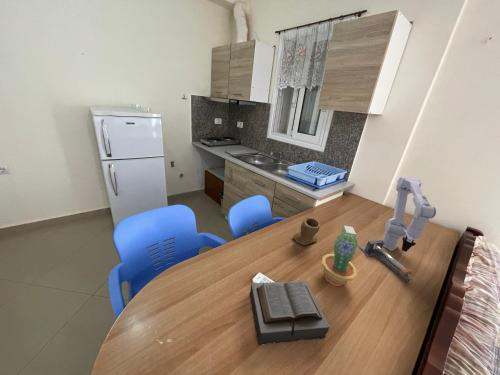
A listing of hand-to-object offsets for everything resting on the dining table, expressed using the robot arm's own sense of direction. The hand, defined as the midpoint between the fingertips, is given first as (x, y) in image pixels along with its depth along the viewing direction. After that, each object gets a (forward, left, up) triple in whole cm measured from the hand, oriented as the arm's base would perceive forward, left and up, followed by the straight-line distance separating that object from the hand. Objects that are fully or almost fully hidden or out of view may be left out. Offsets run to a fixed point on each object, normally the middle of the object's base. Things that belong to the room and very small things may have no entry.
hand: (405, 247), depth 108 cm
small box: (+14, -24, -11) cm, 30 cm away
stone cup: (+34, -37, -11) cm, 51 cm away
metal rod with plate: (+8, -2, -8) cm, 11 cm away
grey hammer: (+7, -3, -10) cm, 13 cm away
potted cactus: (+44, -11, -11) cm, 47 cm away
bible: (+78, -10, -11) cm, 79 cm away
